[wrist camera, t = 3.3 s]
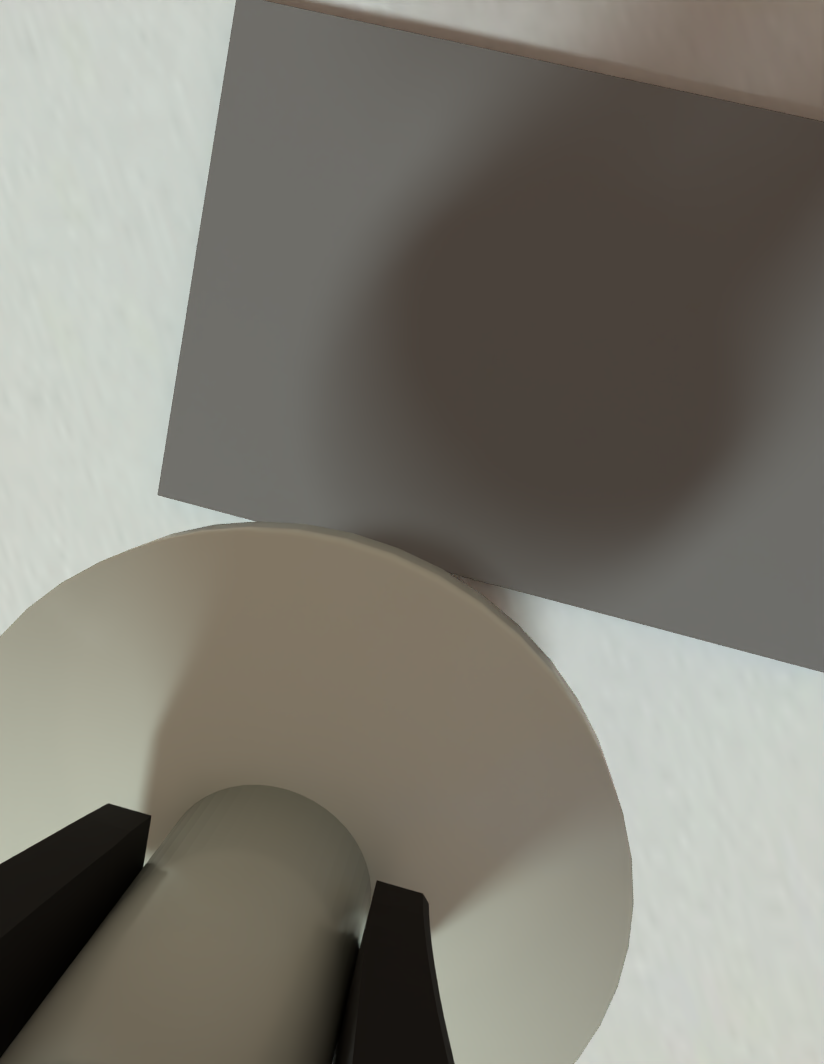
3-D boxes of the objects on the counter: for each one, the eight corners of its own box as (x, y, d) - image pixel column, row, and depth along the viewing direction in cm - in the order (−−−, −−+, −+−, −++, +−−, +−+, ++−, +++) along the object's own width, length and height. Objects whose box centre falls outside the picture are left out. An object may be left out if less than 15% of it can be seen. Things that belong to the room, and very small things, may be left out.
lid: (717, 627, 9) (962, 872, 4) (518, 1196, 11) (535, 1775, 6) (12, 444, 10) (-438, 485, 5) (-51, 1014, 12) (-409, 1419, 7)
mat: (1023, 173, 15) (1037, 168, 15) (822, 667, 18) (829, 673, 17) (242, 4, 16) (237, -6, 16) (164, 492, 19) (157, 494, 18)
